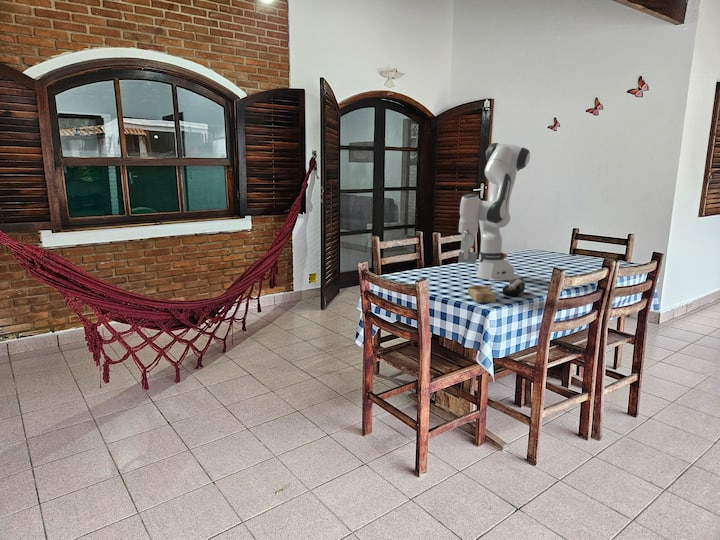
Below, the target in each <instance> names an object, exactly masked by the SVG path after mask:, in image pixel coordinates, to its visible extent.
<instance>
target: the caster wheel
mask: <svg viewBox="0 0 720 540" xmlns="http://www.w3.org/2000/svg"><path fill="white" fill-rule="evenodd" d="M508 281H509V282H508V283H509V284H507V285H504V286H503V287H502V294H503V296H505V297H517V296H522V295H523V294H524V292H525V290H526V289H525V288H526V284H525V281H524V277H518V278H517V279H511V280H508Z"/></svg>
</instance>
